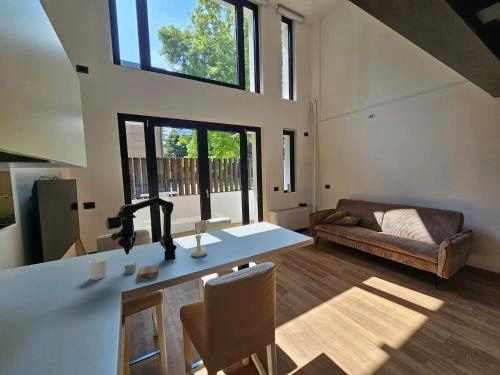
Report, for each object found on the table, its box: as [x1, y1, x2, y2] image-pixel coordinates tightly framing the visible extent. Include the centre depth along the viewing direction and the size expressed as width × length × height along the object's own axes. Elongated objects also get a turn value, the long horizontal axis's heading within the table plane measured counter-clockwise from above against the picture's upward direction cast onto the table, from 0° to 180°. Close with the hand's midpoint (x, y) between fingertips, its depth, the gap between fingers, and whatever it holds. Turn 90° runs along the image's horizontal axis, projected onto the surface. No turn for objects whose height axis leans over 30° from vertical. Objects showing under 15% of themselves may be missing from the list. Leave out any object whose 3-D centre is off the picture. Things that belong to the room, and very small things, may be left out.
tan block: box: [136, 264, 159, 282], centre depth 120 cm, size 10×10×4 cm
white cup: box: [88, 256, 107, 281], centre depth 120 cm, size 8×8×10 cm
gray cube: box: [124, 261, 137, 275], centre depth 126 cm, size 5×5×5 cm
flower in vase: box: [190, 219, 209, 258], centre depth 149 cm, size 13×11×25 cm
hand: (129, 251), depth 126 cm, fingers open, 9 cm apart
